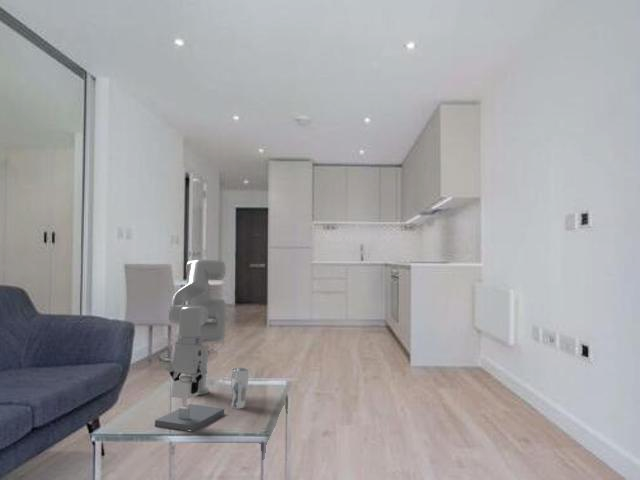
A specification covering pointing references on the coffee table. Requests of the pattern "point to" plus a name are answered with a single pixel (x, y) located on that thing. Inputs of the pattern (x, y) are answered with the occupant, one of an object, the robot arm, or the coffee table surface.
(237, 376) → the beer glass
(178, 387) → the knob
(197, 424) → the flat gray board
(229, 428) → the coffee table surface
